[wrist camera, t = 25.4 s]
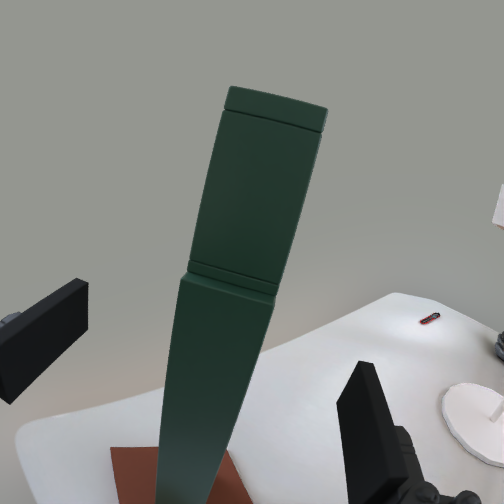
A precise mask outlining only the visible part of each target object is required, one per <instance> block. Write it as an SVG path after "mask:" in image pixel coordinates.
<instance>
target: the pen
mask: <svg viewBox="0 0 504 504" xmlns="http://www.w3.org/2000/svg"><path fill="white" fill-rule="evenodd" d="M434 314H436V315H434ZM437 315H439V316H438V317H440V314H439V313H433V314H432V315H430V316H428V317H426V318H424V319H422V320H420V323H422V322H423V321H425V320H427V319H429V320H427V321H425V322H423V323H422V324H426V323H428V322H430V321H432V320H434V319H436V318H438V317H437Z"/></svg>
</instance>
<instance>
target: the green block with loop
mask: <svg viewBox="0 0 504 504" xmlns="http://www.w3.org/2000/svg"><path fill="white" fill-rule="evenodd" d="M224 109H225V110H224V111H223V112H222V116H221V120H220V123H219V128H218V131H217V135H216V140H215V143H214V148H213V152H212V156H211V160H210V164H209V168H208V172H207V177H206V181H205V186H204V190H203V194H202V199H201V204H200V208H199V213H198V218H197V223H196V227H195V232H194V237H193V242H192V247H191V252H190V260H189V262H188V267H187V272H186V274H185V275H184V276H183V277H182V278H181V280H180V287H179V292H178V298H177V304H176V310H175V316H174V323H173V329H172V336H171V343H170V350H169V357H168V365H167V373H166V381H165V389H164V397H163V406H162V416H161V426H160V436H159V448H158V460H157V474H156V490H155V504H206V501H207V499H208V496H209V494H210V491H211V489H212V486H213V483H214V481H215V478H216V475H217V473H218V470H219V467H220V465H221V462H222V459H223V457H224V454H225V451H226V448H227V446H228V443H229V440H230V437H231V435H232V432H233V429H234V426H235V423H236V421H237V418H238V415H239V412H240V409H241V406H242V404H243V401H244V398H245V395H246V392H247V389H248V386H249V383H250V380H251V377H252V374H253V371H254V368H255V365H256V362H257V359H258V356H259V353H260V350H261V347H262V344H263V341H264V338H265V335H266V332H267V328H268V326H269V323H270V319H271V316H272V313H273V310H274V307H275V299H276V295H277V292H278V289H279V285H280V282H281V279H282V276H283V273H284V269H285V266H286V263H287V259H288V256H289V253H290V249H291V246H292V242H293V239H294V236H295V232H296V229H297V225H298V222H299V218H300V215H301V211H302V207H303V204H304V201H305V197H306V193H307V190H308V186H309V182H310V179H311V175H312V172H313V168H314V164H315V161H316V157H317V153H318V149H319V145H320V141H321V138H322V134H321V133H322V132H323V130H324V126H325V122H326V118H327V114H328V109H327V108H325V107H321V106H318V105H314V104H310V103H307V102H303V101H299V100H295V99H291V98H288V97H283V96H279V95H275V94H270V93H266V92H262V91H257V90H252V89H247V88H242V87H237V86H230V87H229V90H228V94H227V98H226V101H225V105H224Z"/></svg>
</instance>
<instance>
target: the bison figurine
mask: <svg viewBox="0 0 504 504" xmlns="http://www.w3.org/2000/svg"><path fill="white" fill-rule="evenodd" d="M497 341H498V342H496V344H495V349H496V354H497V355H498V356H499V357H500V358H501V359H502V360H504V332H503V333H502V334H499V335H498V339H497Z"/></svg>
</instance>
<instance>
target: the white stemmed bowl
mask: <svg viewBox="0 0 504 504" xmlns="http://www.w3.org/2000/svg"><path fill="white" fill-rule="evenodd" d="M492 223H493V224H494V225H495V226H497V227H499V228H501V229H503V230H504V184H502V187H501V191H500V195H499V198H498V202H497V206H496V210H495V213H494V217H493V220H492ZM442 414H443V416H444V419H445V421H446V423H447V425H448V427H449V429H450V431H451V433H452V434H453V435H454V437H455V438H456V439H457V440H458V441H459V442H460V443H461V444H462V445H463V447H464V448H465V449H466V450H467V451H468V452H470V453H471V454H473V455H474V456H476V457H477V458H479V459H481V460H482V461H484V462H485V463H487V464H490V465H494V466H498V467H502V468H504V397H503V396H501V395H500V394H498V393H497V392H495V391H493V390H491V389H489V388H486V387H483V386H481V385H478V384H470V383H460V384H457V385H454V386H451V387H450V388H449V390H448V391H447V393H446V394H445V396H444V397H443V399H442Z"/></svg>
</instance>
